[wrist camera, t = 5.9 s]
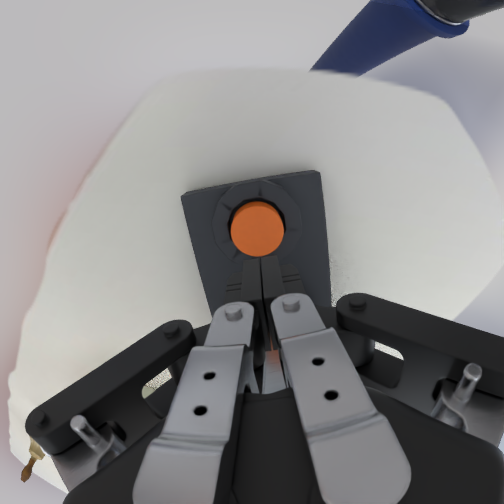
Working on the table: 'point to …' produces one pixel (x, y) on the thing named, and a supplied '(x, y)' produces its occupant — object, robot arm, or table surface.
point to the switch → (257, 229)
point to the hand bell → (32, 459)
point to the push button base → (291, 247)
